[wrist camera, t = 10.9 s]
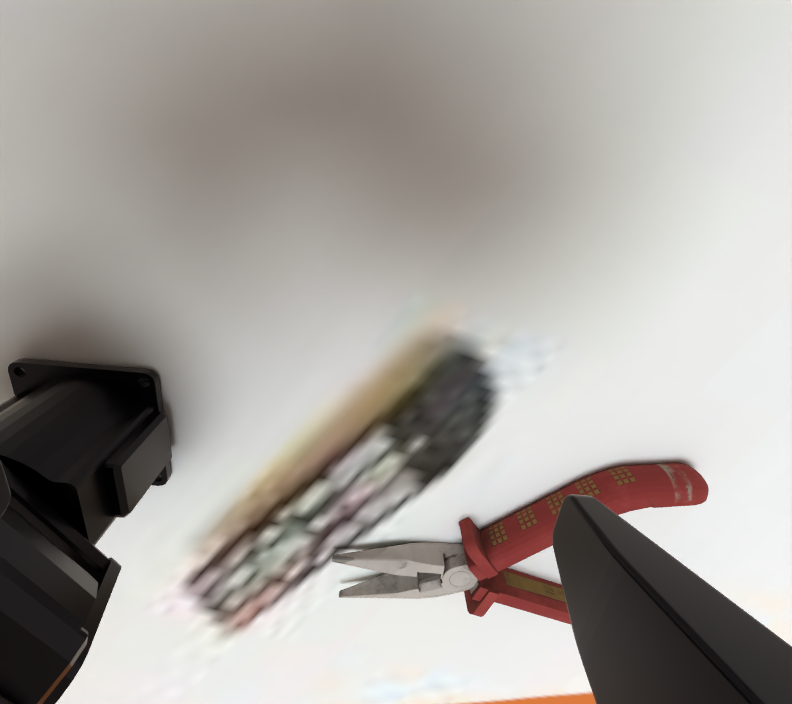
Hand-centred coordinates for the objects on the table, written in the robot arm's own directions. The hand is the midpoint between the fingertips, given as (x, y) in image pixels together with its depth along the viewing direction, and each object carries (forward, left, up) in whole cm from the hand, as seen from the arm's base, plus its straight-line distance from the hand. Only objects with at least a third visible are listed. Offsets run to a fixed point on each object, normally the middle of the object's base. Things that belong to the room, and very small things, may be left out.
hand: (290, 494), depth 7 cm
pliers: (+11, -13, -14) cm, 22 cm away
